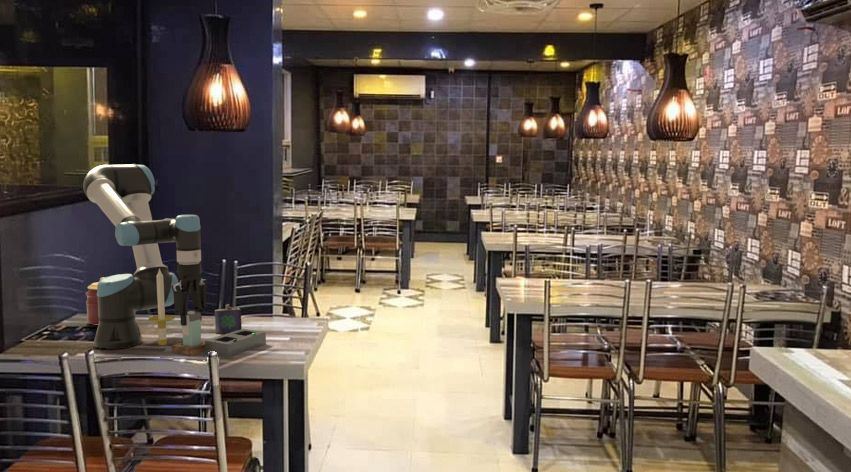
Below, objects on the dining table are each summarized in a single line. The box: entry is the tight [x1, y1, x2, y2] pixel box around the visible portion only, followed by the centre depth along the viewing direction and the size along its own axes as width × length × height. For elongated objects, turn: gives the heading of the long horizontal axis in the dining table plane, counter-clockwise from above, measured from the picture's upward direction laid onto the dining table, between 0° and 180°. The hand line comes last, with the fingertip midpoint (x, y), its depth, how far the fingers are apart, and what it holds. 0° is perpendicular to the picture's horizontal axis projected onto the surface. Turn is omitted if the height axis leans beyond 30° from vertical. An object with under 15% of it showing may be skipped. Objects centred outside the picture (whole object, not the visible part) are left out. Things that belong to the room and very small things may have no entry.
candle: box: [148, 268, 176, 346], centre depth 250 cm, size 10×10×27 cm
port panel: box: [203, 328, 267, 358], centre depth 245 cm, size 10×18×5 cm, turn 151°
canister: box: [85, 276, 106, 324], centre depth 285 cm, size 13×13×18 cm
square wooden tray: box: [171, 340, 205, 357], centre depth 243 cm, size 9×9×3 cm
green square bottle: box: [182, 310, 202, 347], centre depth 242 cm, size 4×4×12 cm
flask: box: [214, 303, 243, 336], centre depth 268 cm, size 9×3×11 cm, turn 105°
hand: (191, 333), depth 243 cm, fingers closed on green square bottle, 4 cm apart
